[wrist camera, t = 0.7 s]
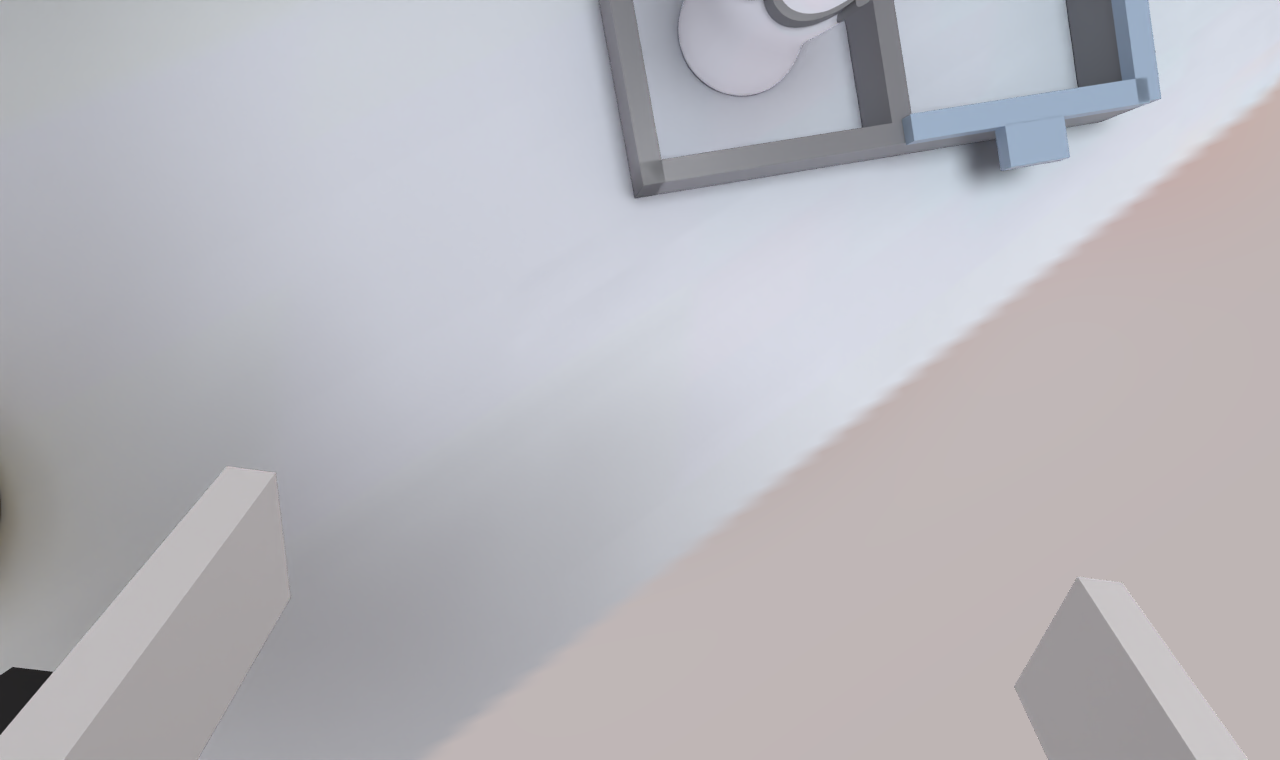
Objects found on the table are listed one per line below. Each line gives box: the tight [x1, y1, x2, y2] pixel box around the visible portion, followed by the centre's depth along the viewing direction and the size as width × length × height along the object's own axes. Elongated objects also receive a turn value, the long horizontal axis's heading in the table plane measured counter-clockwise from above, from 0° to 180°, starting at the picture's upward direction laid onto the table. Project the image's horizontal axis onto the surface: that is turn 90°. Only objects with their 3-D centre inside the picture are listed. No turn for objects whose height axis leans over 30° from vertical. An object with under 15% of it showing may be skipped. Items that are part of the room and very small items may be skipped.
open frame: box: [599, 0, 1161, 198], centre depth 36 cm, size 18×25×4 cm
